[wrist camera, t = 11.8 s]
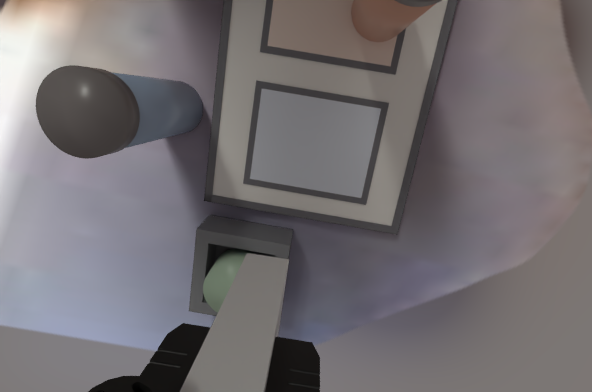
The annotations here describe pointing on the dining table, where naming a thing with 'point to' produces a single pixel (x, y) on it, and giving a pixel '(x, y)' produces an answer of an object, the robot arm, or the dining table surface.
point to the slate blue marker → (112, 110)
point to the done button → (222, 276)
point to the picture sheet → (320, 111)
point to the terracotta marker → (386, 16)
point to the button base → (229, 235)
